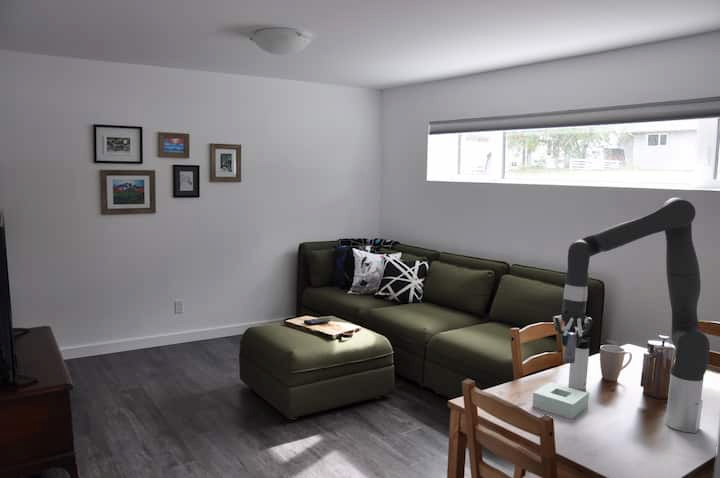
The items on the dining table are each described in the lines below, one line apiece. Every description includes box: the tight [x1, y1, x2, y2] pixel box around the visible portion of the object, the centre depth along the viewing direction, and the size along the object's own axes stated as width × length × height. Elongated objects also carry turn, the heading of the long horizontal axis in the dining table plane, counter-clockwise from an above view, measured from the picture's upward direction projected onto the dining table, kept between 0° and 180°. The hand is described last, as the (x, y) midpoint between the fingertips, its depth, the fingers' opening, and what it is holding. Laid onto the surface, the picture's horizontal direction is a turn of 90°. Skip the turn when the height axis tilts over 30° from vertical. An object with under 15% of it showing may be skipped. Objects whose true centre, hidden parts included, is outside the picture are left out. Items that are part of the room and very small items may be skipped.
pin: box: [562, 331, 578, 364], centre depth 193 cm, size 4×4×10 cm
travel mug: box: [567, 336, 592, 392], centre depth 211 cm, size 6×7×20 cm
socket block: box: [532, 381, 589, 420], centre depth 195 cm, size 14×14×5 cm
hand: (570, 345), depth 193 cm, fingers closed on pin, 4 cm apart
